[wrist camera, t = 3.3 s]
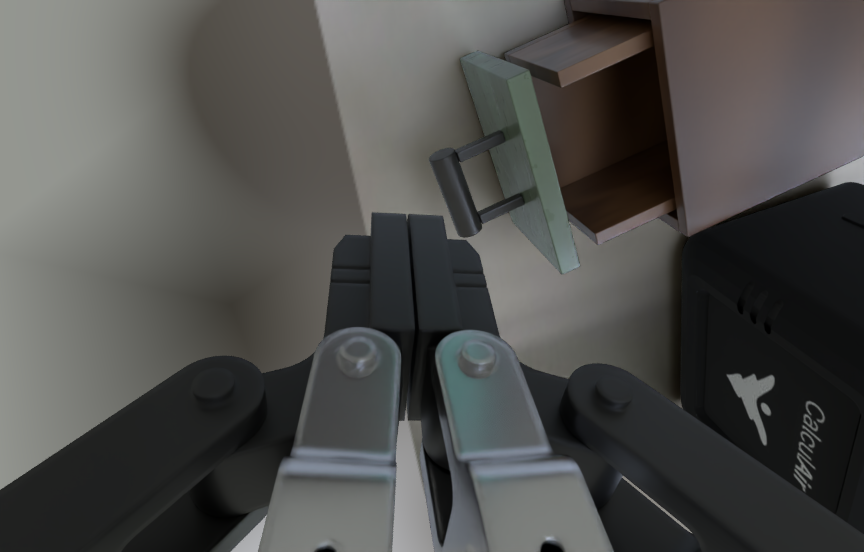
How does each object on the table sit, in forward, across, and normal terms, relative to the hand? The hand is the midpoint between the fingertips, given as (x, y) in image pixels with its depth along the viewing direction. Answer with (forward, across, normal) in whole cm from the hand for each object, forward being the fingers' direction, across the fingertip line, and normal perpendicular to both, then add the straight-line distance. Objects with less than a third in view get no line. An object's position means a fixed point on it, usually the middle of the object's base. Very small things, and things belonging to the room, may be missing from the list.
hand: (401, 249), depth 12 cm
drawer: (+23, -11, +5) cm, 26 cm away
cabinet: (+26, -20, +2) cm, 33 cm away
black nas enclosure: (+24, -32, +21) cm, 46 cm away
